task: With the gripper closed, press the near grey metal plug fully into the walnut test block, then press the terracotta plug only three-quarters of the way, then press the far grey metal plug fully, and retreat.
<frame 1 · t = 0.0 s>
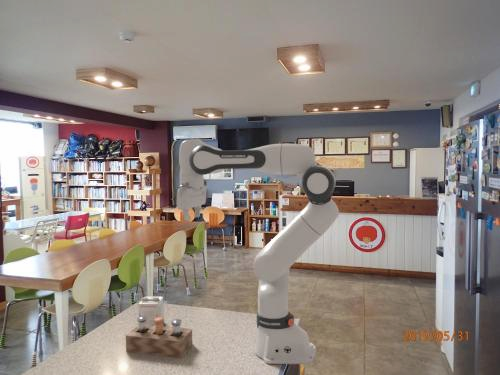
hand: (192, 218, 138), 48 cm above the counter, fingers open, 8 cm apart
grey plug near: (176, 329, 134), point 8 cm above the counter, slide at 0.0 cm
ink box: (152, 327, 155), on the counter
test block: (159, 347, 136), on the counter
grey plug far: (142, 326, 138), point 8 cm above the counter, slide at 0.0 cm
terracotta plug: (159, 327, 136), point 8 cm above the counter, slide at 0.0 cm
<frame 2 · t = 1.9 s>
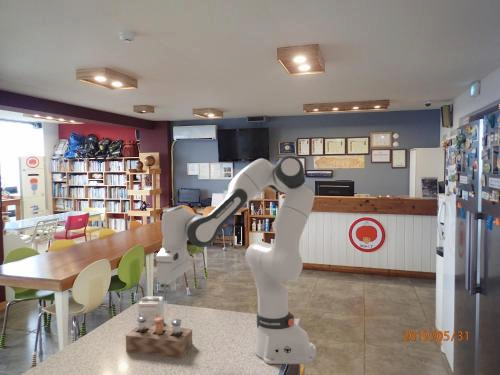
hand: (175, 288, 133), 23 cm above the counter, fingers closed
nothing on the counter moved.
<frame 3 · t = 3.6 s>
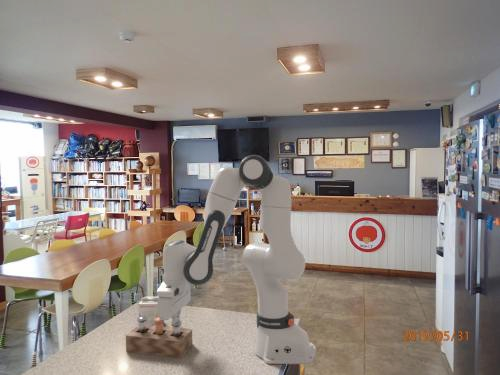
hand: (175, 321, 134), 11 cm above the counter, fingers closed
grey plug near: (176, 330, 134), point 7 cm above the counter, slide at 0.4 cm, touching gripper
everything else where it was.
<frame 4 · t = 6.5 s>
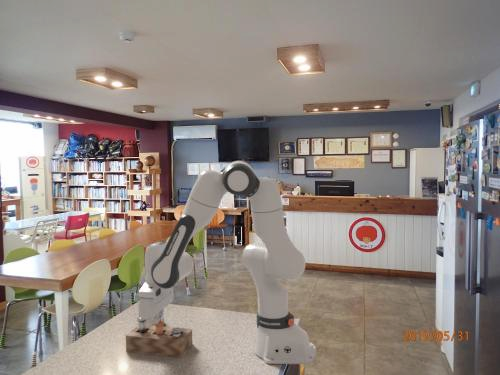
hand: (158, 322, 135), 10 cm above the counter, fingers closed
grey plug near: (176, 337, 134), point 4 cm above the counter, slide at 3.2 cm
terracotta plug: (159, 330, 136), point 7 cm above the counter, slide at 0.9 cm, touching gripper
everything else where it was.
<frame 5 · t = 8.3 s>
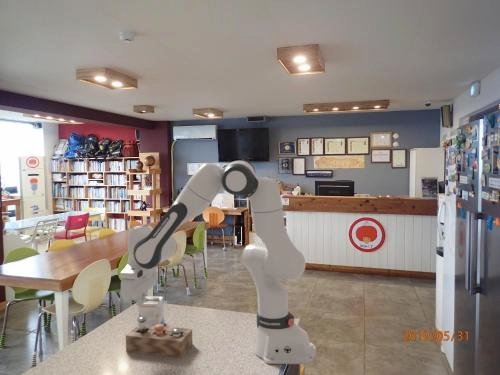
hand: (140, 304, 137), 16 cm above the counter, fingers closed
terracotta plug: (159, 334, 136), point 5 cm above the counter, slide at 2.5 cm
everything else where it was.
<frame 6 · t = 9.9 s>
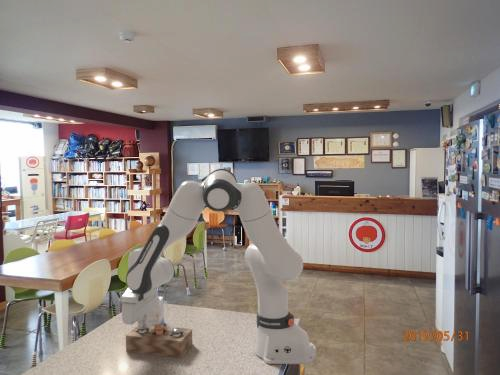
hand: (142, 326, 137), 8 cm above the counter, fingers closed, pressing on grey plug far
grey plug far: (142, 334, 138), point 4 cm above the counter, slide at 3.2 cm, touching gripper
everything else where it was.
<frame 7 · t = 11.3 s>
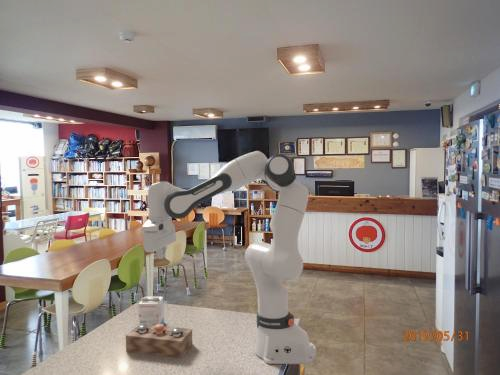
hand: (161, 258, 142), 32 cm above the counter, fingers closed
grey plug far: (142, 334, 138), point 4 cm above the counter, slide at 3.2 cm
everything else where it was.
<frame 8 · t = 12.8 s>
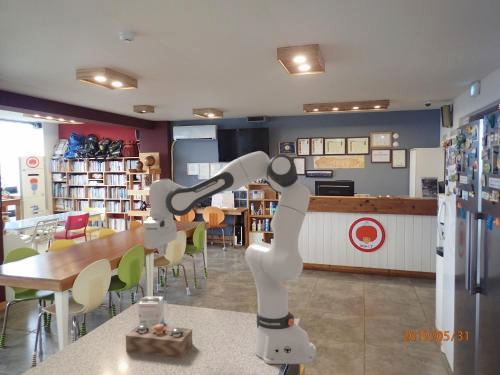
hand: (162, 255, 143), 33 cm above the counter, fingers closed
nothing on the counter moved.
at the end: grey plug near slide at 3.2 cm; grey plug far slide at 3.2 cm; terracotta plug slide at 2.5 cm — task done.
